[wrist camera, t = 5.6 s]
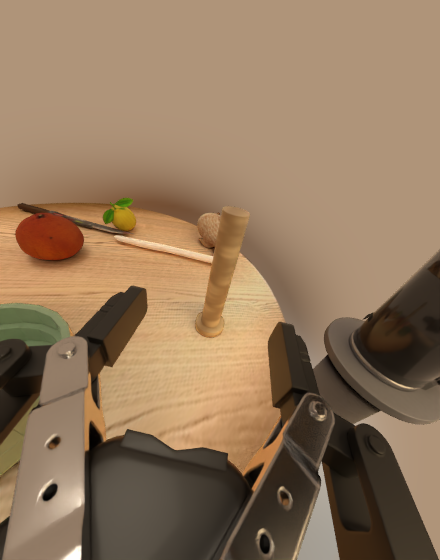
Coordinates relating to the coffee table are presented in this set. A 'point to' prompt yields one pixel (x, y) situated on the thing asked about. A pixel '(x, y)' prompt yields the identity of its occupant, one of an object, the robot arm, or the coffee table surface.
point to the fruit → (49, 237)
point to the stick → (222, 269)
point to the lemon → (121, 215)
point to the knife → (72, 219)
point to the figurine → (209, 229)
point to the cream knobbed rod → (165, 248)
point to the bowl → (33, 331)
